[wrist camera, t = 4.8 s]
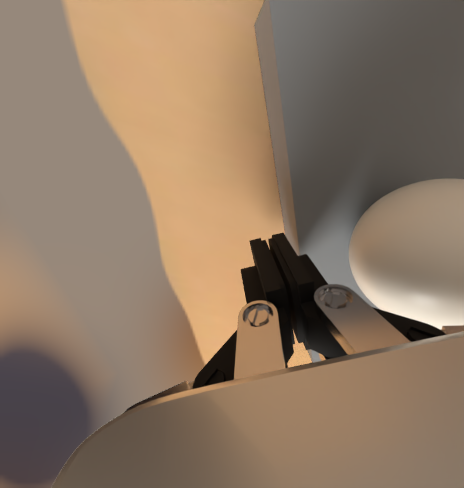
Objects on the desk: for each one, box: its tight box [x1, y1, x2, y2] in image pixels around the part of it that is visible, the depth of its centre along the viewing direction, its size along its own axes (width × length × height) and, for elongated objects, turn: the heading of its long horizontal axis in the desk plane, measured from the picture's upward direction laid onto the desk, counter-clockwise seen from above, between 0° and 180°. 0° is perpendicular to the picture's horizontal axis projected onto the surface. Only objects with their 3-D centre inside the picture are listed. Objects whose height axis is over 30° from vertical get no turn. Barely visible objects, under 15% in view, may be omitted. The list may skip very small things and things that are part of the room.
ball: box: [349, 179, 464, 329], centre depth 10 cm, size 6×6×6 cm
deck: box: [254, 0, 464, 363], centre depth 13 cm, size 20×20×3 cm
